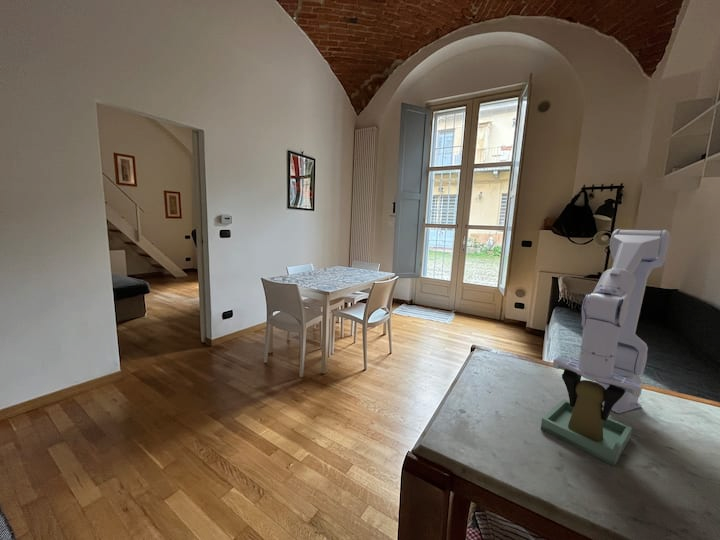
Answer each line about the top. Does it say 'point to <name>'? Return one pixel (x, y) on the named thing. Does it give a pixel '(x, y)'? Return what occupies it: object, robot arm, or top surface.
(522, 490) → the top surface
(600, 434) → the cork
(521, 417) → the top surface
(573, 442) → the tray
